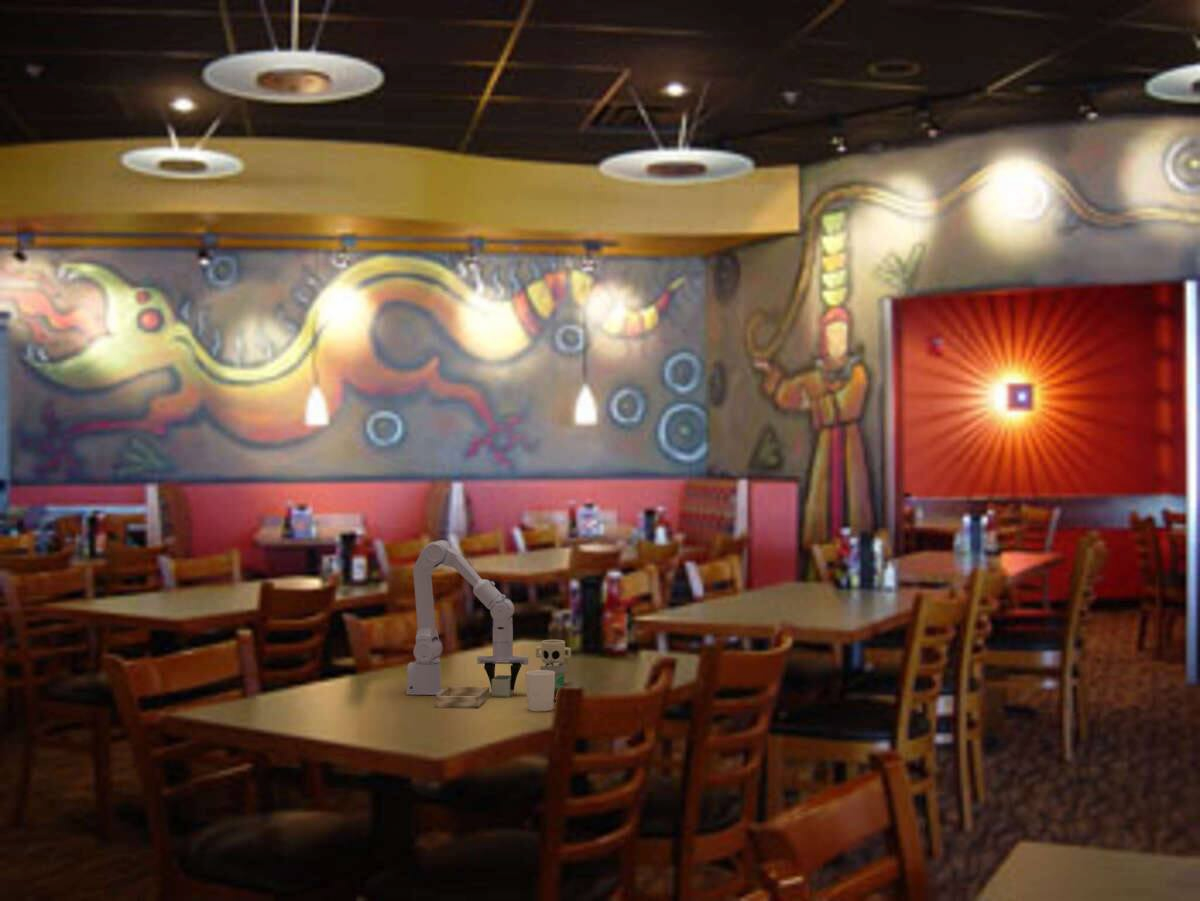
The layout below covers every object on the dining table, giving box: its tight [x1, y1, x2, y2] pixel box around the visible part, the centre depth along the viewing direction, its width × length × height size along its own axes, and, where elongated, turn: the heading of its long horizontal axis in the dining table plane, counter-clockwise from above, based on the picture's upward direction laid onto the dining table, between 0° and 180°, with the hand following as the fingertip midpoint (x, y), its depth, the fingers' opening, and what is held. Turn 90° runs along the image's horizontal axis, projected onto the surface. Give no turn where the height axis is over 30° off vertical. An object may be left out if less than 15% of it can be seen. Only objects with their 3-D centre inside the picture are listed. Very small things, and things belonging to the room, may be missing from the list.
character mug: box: [535, 639, 572, 666], centre depth 418 cm, size 11×7×13 cm, turn 76°
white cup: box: [525, 669, 555, 712], centre depth 378 cm, size 8×8×10 cm
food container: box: [539, 660, 568, 702], centre depth 393 cm, size 12×6×10 cm, turn 168°
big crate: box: [434, 686, 490, 709], centre depth 388 cm, size 12×16×3 cm
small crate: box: [491, 674, 515, 698], centre depth 400 cm, size 5×8×5 cm, turn 174°
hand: (502, 689), depth 400 cm, fingers closed on small crate, 5 cm apart
